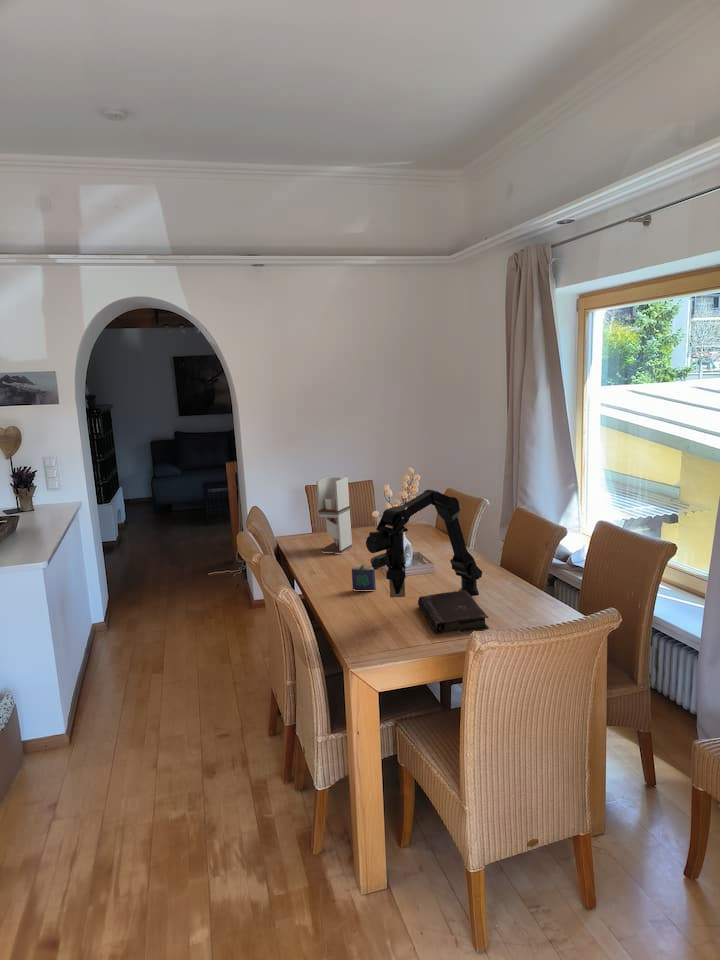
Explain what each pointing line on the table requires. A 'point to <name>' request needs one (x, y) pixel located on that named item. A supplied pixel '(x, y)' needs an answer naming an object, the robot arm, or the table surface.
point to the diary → (453, 612)
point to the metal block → (392, 590)
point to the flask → (363, 578)
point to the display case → (335, 512)
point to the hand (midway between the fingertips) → (397, 591)
